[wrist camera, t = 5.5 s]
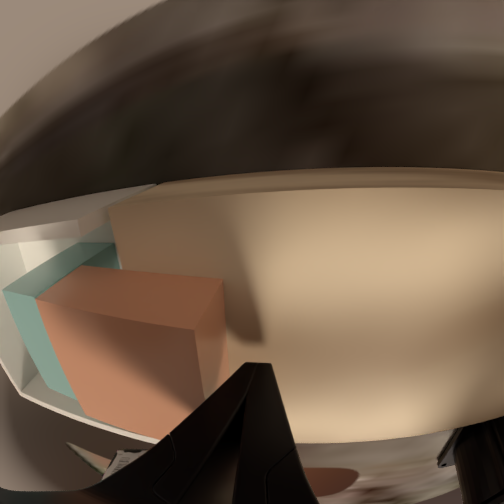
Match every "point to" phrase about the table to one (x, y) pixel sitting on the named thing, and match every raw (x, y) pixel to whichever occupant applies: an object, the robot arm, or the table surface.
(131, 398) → the terracotta block
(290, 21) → the table surface
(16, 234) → the box
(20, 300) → the mint green block
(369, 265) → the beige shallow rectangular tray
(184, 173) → the table surface
